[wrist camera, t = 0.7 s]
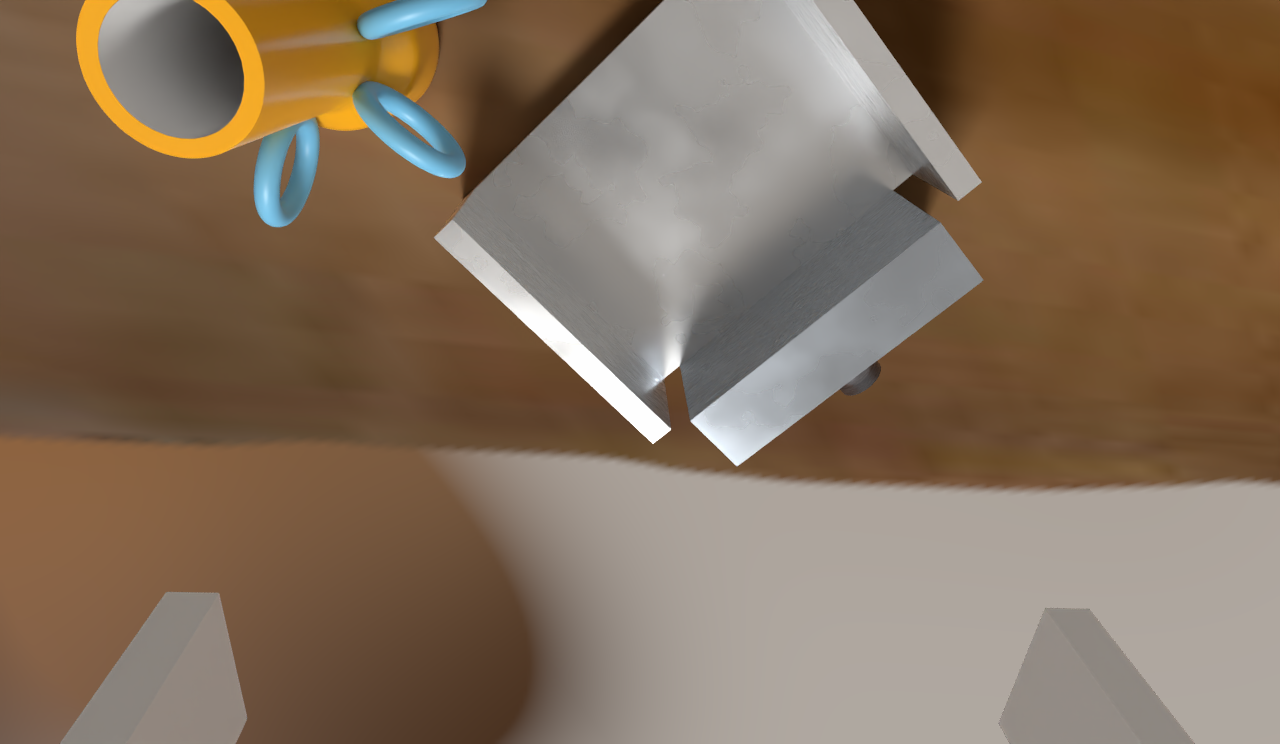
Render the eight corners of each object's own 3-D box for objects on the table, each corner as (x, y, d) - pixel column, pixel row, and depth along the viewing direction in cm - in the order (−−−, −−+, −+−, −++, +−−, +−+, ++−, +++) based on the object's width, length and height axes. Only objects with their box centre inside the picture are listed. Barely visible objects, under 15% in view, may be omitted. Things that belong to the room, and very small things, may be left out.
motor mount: (462, 199, 34) (431, 241, 28) (748, -86, 29) (782, -108, 24) (713, 444, 39) (730, 521, 34) (982, 236, 35) (1056, 282, 29)
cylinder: (462, -164, 28) (321, -317, 15) (552, 124, 32) (509, 212, 19) (155, -62, 29) (-241, -117, 16) (283, 203, 34) (61, 340, 20)
